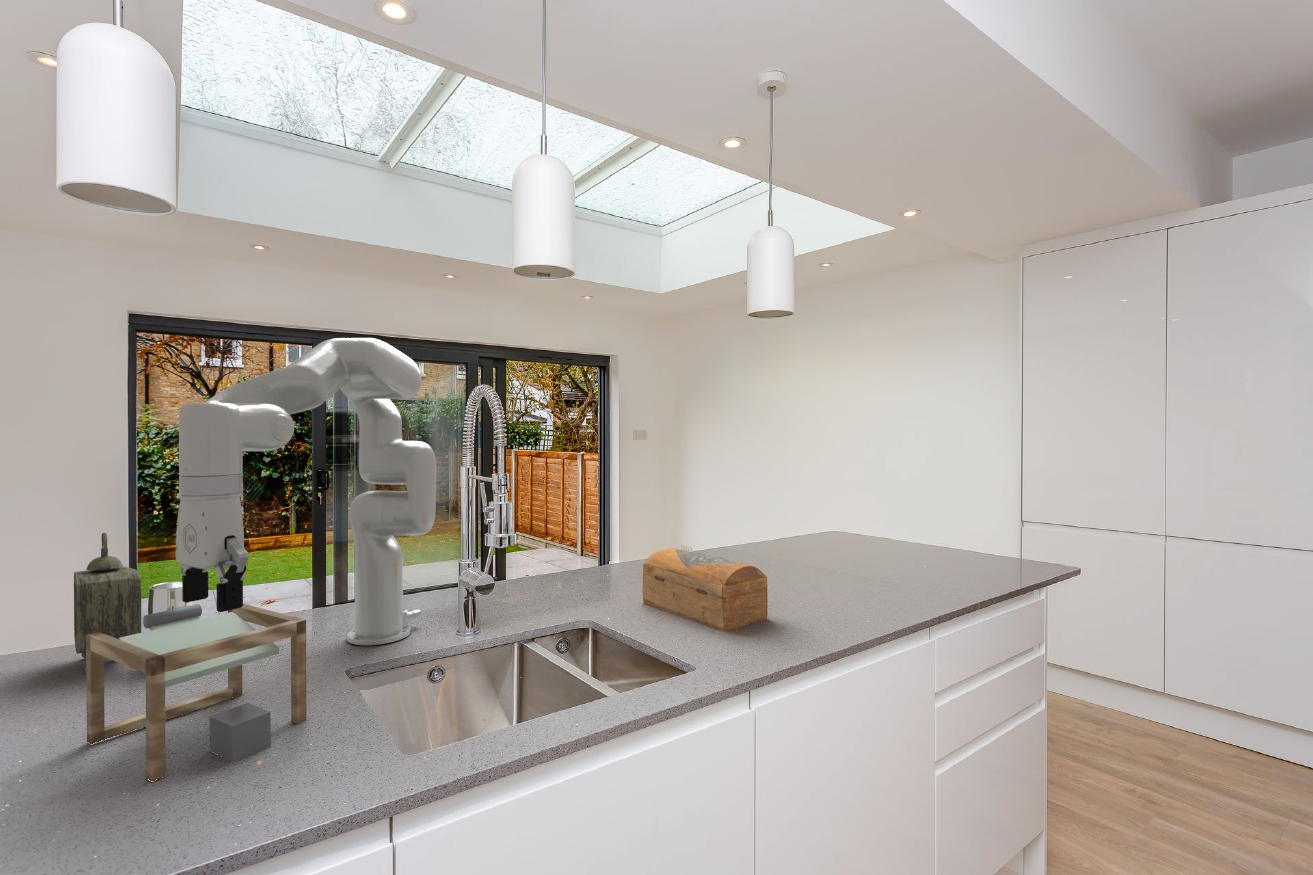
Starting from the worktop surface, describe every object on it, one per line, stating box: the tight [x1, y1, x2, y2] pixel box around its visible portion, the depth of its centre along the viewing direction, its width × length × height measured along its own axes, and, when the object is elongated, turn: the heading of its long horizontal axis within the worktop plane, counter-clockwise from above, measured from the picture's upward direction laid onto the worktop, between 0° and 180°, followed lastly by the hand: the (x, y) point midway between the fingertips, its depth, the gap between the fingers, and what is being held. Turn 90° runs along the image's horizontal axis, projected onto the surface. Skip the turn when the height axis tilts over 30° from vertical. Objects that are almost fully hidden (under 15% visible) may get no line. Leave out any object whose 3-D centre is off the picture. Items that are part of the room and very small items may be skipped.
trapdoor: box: [119, 603, 280, 689], centre depth 94 cm, size 15×17×2 cm
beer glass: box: [147, 580, 195, 615], centre depth 121 cm, size 7×7×15 cm
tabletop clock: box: [73, 532, 142, 673], centre depth 121 cm, size 14×9×25 cm, turn 45°
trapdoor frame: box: [85, 603, 308, 782], centre depth 93 cm, size 20×20×16 cm
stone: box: [209, 702, 272, 763], centre depth 88 cm, size 5×5×6 cm
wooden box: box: [642, 547, 768, 632], centre depth 156 cm, size 30×16×14 cm, turn 38°
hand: (212, 604), depth 91 cm, fingers open, 9 cm apart
